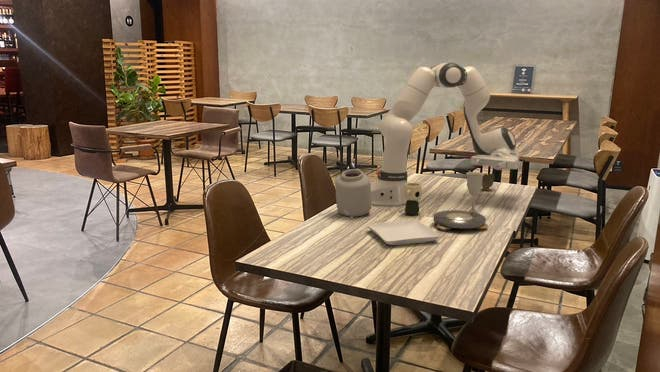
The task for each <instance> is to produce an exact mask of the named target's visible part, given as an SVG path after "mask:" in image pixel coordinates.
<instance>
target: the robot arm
mask: <svg viewBox="0 0 660 372" xmlns="http://www.w3.org/2000/svg"><path fill="white" fill-rule="evenodd" d="M435 87H439V88H442V89H443V88H444V89H448V88H452V89H453V88H456V87H457V88H458V90H460V92H461V94H462V96H463V98H464V102H465V106H464V107H463V115H464V119H465V122H466V125H467V129H468V131H469V135H470V139H471V143H472V147H473V150H474V152H475V153H476V155H472V156H471V157H470V164H471V165H475V166H481V167H482V166H483V167H492V169H494V170H497V171H501V170H517V169H519V165H520V155H521V153H520V150H519V149H518V148H517V147H516V145H517V142H516V141H517V140H516V137H515V135H514V132H512V130H510V129H508V128H506V127H504V126H501V127H500V128H496V129H493V130H492V131H489V132H485V133H482V132H481V129H480V126H479V123H478V122H479V121H478V118H477V117H478V115H479V113H480V112H481V111H482V110H483V109H484V108H485V107H486V105H487V104H489V101H490V99H491V93H490V89H489V88H488V85H487V83H486V82H485V80H484V78H483V77H482V75H481V74H480V73H479V71H478V70H477V68H475V67H474V66H472V65H471V66H470V65H469V66H465V67H462V66H461V65H459V64H458V63H455V62H448V61H447V62H440V63H437V64H436V65H434V66H432V67H431V68H430V67H427V66H419V67H417V69H416V70H415V71H414V72H413V74H411V76H410V78H409V79H408V81H407V83H406V84H405V86H404V87H403V89H402V91H401V93H400V95H399V96H398V98H397V100H396V102H395V103H394V104H393V105H392V107H391V108H390V109H389V110H388V112H387V114H386V115H385V116H384V117H382V119H380V121H379V125H378V129H379V131H380V133H381V135H382V136H383V137H384V138H385V145H384V150H383V152H382V158H381V160H382V167H381V169H382V170H379V169H377V170H375V175H376V176H377V179H376V180H374V181H373V182H372V183H371V182H370V185H371V204H372V206H385V207H386V206H390V207H391V206H392V207H399V206H401V205H406V201H407V199H405V198H404V185H405V183H408V169H407V164H408V160H407V159H408V152H409V147H410V142H411V139H412V137H413V134H414V128H413V126H412V124H411V123H410V122H411V121H412V120H413V118H414V117H415V116H417V114H418V113H419V112H420V111H421V110H422V107H423V106H424V105H425V102H426V101H427V98H428V97H429V95H430V94H431V91H432V90H433V89H434V88H435Z"/></svg>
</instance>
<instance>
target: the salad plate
mask: <svg viewBox="0 0 660 372" xmlns="http://www.w3.org/2000/svg"><path fill="white" fill-rule="evenodd" d="M366 225H367V227H368V229H369V230H370V231H371V232H373V233H374V234H375V235H377V236H378V237H379V238H380V239H381V240H382V241H383V242H384V243H385V244H387V245H389V246H400V245H401V246H402V245H412V244H421V243H428V242H434V241H435V240H438V239H439V238H440V237H441V234H439V233H437V232H436V231H434V230H433V229H431V228H430V227H429V226H428V225H426V224H424V223H423V222H422V221H420V220H419V219H409V220H394V221H387V222H386V221H385V222H384V221H383V222H378V223H377V222H376V223H375V222H374V223H367V224H366Z"/></svg>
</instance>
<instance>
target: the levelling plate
mask: <svg viewBox="0 0 660 372" xmlns="http://www.w3.org/2000/svg"><path fill="white" fill-rule="evenodd" d="M486 220H487V218H486V217H485V216H484V215H482V214H480V213H478V212H477V213H474V212H469V210H458V209H457V210H456V209H455V210H453V209H452V210H451V209H449V210H441V211H438V212H435V213H434V214H433V222H434V223H435V224H436V228H437V229H438V230H442V231H451V230H452V229H463V230H464V229H465V230H466V229H467V230H469V229H470V230H471V229H472V230H480V231H481V230H485V229H486V230H487V229H488V228H489V225H488V224H487V223H486V222H487V221H486Z"/></svg>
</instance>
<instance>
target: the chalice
mask: <svg viewBox="0 0 660 372" xmlns="http://www.w3.org/2000/svg"><path fill="white" fill-rule="evenodd" d="M465 174H466V176H467V177H466V187H467V190H468V192H469V195H471V196H472V199H471V203H470V204H471V209H469V210H468V211H469V212H474V213H478V211H477V210H476V209H475V206H476V203H475V202H476V196H478V194H479V193H480V191H481V189H482V180H483V176H484V172H477V171H469V172H466V173H465Z"/></svg>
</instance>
